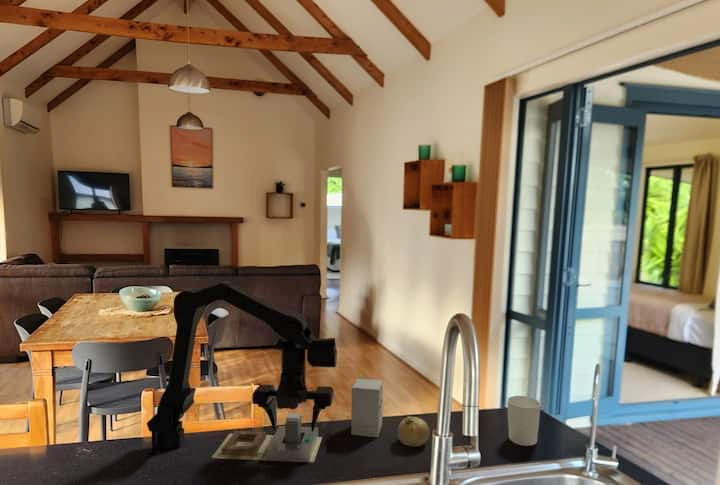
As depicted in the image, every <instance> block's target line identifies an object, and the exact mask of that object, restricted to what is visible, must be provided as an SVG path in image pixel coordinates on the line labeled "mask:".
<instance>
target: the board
mask: <svg viewBox="0 0 720 485" xmlns="http://www.w3.org/2000/svg"><path fill="white" fill-rule="evenodd" d="M232 434H233V433H229V434H228V435H227V436H226V437H225V439H224V440H223V441H222V443H221V444H220V445H219V447H218V448H217V449H216V451H215V452H214V453H213V455H212V456H211V457H210V458H211V459H229V460H231V459H232V460H249V461H250V460H255V461H267V460H266V449H267V447H268V446H269V444H270V442H271V440H272V438H273V436H274V435H275V434H273V435H272V434H266V439H265V441H264V442H263V444H262V446H261V448H260V449H259V451H258V453H257V455H256V456H241V455H222V448H223V446H224V445H225V444H226V442H227V441H228V440H229V438H230V437H231V436H232ZM322 438H323V437H322V436H318V439H317V442H316V445H315V448H314V451H313V454H312V456H311V459H310V462H309V463H315V460H316V457H317V454H318V452H319V448H320V445H321V442H322V440H323V439H322ZM253 441H254V440H239V442H238V443H237V445H236V446H251V444H252V443H253ZM271 461H273V462H274V461H275V462H277V460H271ZM294 462H295V463H297V462H299V463H301V462H300V461H294Z"/></svg>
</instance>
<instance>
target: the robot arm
mask: <svg viewBox="0 0 720 485" xmlns="http://www.w3.org/2000/svg"><path fill="white" fill-rule="evenodd" d="M219 301H224V302H226V303H228V304H229V305H231V306H233V307H235V308H237V309H238V310H241V311H242V312H245V313H247V314H249V315H250V316H253V317H254V318H256V319H258V320H260V321H262V322H263V323H265V324H267V326H269V328H271V330H272V331H273V332H274V333H276V334H277V335H278V336H279V338H278V340H277V341H276V342H275V343H273V346H272V349H273V350H280V351H281V352H280V354H281V355H280V356H281V357H280V358H281V359H280V360H281V362H280V364H281V366H280V367H281V373H280V381H279V383H278V388H277V389H275V388H276V387H275V385H274V384H259V385H258V386H257V387H256V389H255V390H254V391H253V392H252V396H251V398H252V399H251V401H252V404H253V405H257V407H259V408H262V409H263V410H264V411H265V413H266V415H267V416H268V418H269V421H270V424H271V427H272V429H273V430H274V431H277V424H278V423H277V422H278V420H277V419H278V417H277V409H279V410H282V409H290V410H296V409H297V408H298V407H299V404H302V403H306V402H307V400H309V401H310V400H312V401H313V406H312V415H311V426H310V427H311V430H312V431H314V428H315V427H316V424H317V421H318V417H319V414H320V412H321V411H322V410H325V409H327V407H331V406H332V404H333V401H334V397H335V394H334V393H335V392H334V391H335V390H334V388H333V386H319V385H318V386H316V389H315V390H308V388H307V384H306V383H307V382H306V377H307V376H306V373H307V372H306V371H307V370H306V369H307V368H306V363H308V364H309V366H311V367H312V368H337V362H338V349H337V344H336V337H329V338H328V337H327V338H318V337H317V338H316V336H315V333H313V331H312V329H311V328H310V327H309V326H308V323H307V319H306V317H305V315H304V314H302V313H301V312H299V311H295V310H292V309H289V308H284V307H279V306H276V305H273V304H271V303H269V302H268V301H266V300H265V299H262V298H260V297H258V296H256V295H254V294H252V293H251V292H249V291H247V290H244V288H243V289H242V288H241V287H239V286H237V285H235V284H234V283H233V282H231V281H229V280H224V281H222V282H220V283H217V284H213V285H210V286H206V287H203V288H201V287H198V286H193V287H190V288H188V289H185V290H182V291H180V292H178V293H177V294H176V295H175V297H174V299H173V317H174V320H175V323H176V331H175V338H174V345H173V350H172V357H171V364H170V371H169V377H168V382H167V384H166V387H165V389H164V390H163V393H162V395H161V397H160V400H159V403H158V405H157V409H156V414H154V416H153V417H152V418H151V419H149V420H148V421H147V422H146V426H147V429H148V431H149V432H151V449H150V450H148V455H155V454H156V453H157V452H158V451H159V452H164V451H171V450H177V449H180V448H182V446H183V445H184V444H185V428H184V427H183V421H182V420H181V419H182V418H183V417H184V416H185V413H187V412H188V411H189V409H190V408H191V407H192V406H193V405H194V404H195V400H194V398H195V393H196V390H197V388H196V387H191V384H190V376H191V375H190V373H191V367H192V361H193V356H194V349H195V344H196V342H195V341H196V336H197V329H198V325H199V323H200V321H201V319H202V317H203V316H204V313H205V311H206V308H207V307H206V306H207V305H209V304H213V303H216V302H219ZM306 359H307V360H306ZM306 361H307V362H306Z"/></svg>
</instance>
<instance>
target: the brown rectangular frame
mask: <svg viewBox="0 0 720 485" xmlns="http://www.w3.org/2000/svg"><path fill="white" fill-rule="evenodd" d="M231 434H232V436H231V437H230V438H229V440H228V441H227V442H226V444H225V445H224V446H223V448H222V455H241V456H256V455H257V453H258V451H259V449H260V448H261V446H262V444H263V442H264V441H265V439H266V435H267V431H253V430H252V431H251V430H250V431H249V430H248V431H247V430H245V431H244V430H234V432H233V433H231ZM239 440H254V441H253V443H252V444H251V446H236V445H237V443H238V442H239Z"/></svg>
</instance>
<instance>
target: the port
mask: <svg viewBox="0 0 720 485" xmlns="http://www.w3.org/2000/svg"><path fill="white" fill-rule="evenodd" d="M273 435H274V436H273V438H272V440H271V442H270V444H269V446H268V447H267V449H266V460H265V461H272V460H277V461H278V462H295V461H300V462H299V463H301V462H302V463H311V462H310V459H311V456H312V454H313V451H314V448H315V445H316V442H317V439H318V437H319V427H317V426H315V428H314V431H312V430H311V426H301V444H285V425H278V427H277V428H276V430H275V433H274V434H273ZM277 461H276V462H277Z"/></svg>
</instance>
